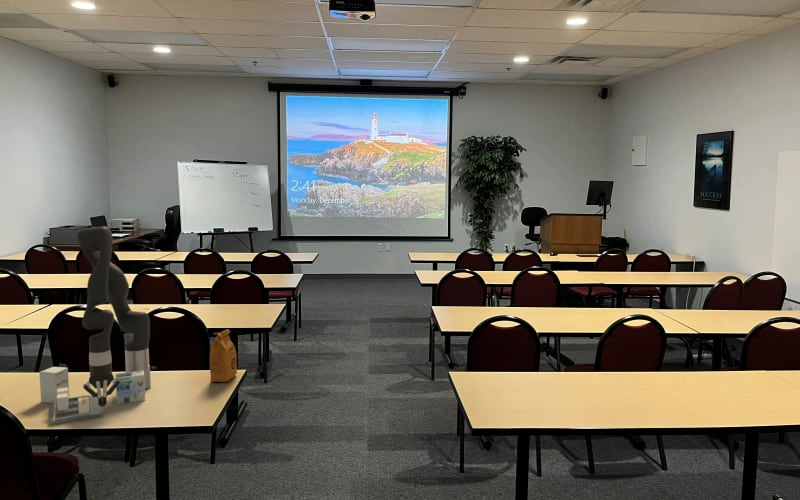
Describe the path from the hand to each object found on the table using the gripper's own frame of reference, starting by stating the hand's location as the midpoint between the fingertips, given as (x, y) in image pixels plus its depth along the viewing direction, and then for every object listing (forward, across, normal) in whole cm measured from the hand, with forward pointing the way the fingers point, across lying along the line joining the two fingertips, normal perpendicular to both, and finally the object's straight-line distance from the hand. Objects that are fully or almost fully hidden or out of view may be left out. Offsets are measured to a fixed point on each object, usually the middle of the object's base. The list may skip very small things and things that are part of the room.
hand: (102, 406), depth 226 cm
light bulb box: (+3, -11, -11) cm, 16 cm away
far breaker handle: (+1, +13, -15) cm, 20 cm away
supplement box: (+3, +16, -25) cm, 30 cm away
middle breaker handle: (+1, +13, -8) cm, 15 cm away
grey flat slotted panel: (+3, +9, -8) cm, 12 cm away
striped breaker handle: (+1, +6, 0) cm, 6 cm away
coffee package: (+3, -50, -19) cm, 53 cm away
